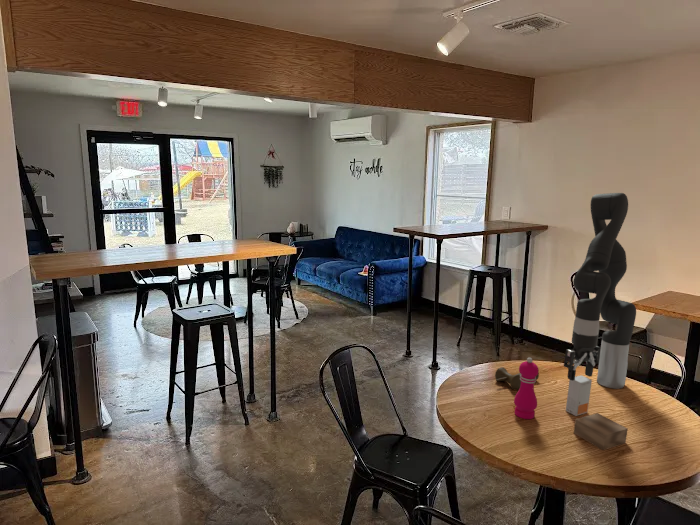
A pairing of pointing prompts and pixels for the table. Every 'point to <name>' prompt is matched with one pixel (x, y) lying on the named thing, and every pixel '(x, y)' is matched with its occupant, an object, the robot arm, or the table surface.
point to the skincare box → (578, 395)
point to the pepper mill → (526, 390)
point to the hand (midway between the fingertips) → (579, 377)
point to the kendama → (509, 378)
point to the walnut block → (600, 431)
